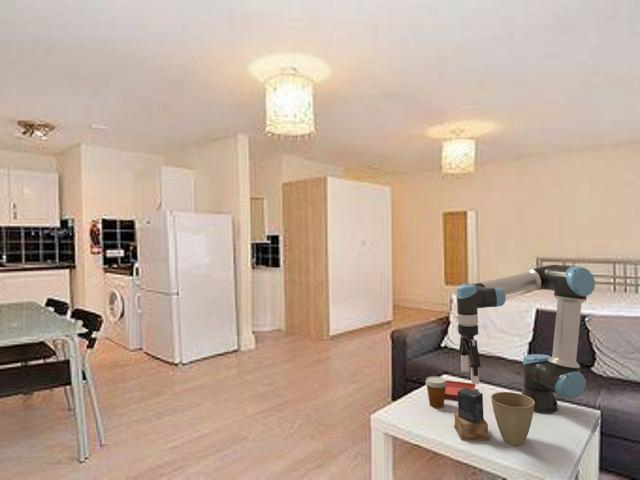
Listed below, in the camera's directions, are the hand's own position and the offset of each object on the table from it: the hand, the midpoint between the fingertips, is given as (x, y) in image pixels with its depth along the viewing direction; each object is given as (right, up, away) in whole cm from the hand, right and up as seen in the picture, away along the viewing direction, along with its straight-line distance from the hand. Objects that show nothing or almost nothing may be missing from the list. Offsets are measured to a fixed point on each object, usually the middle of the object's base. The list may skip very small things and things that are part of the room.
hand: (470, 377), depth 159 cm
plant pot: (+14, -22, -6) cm, 27 cm away
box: (0, -17, 0) cm, 17 cm away
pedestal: (0, -22, 0) cm, 22 cm away
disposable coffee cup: (-5, -22, +27) cm, 35 cm away
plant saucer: (+8, -22, +40) cm, 46 cm away
